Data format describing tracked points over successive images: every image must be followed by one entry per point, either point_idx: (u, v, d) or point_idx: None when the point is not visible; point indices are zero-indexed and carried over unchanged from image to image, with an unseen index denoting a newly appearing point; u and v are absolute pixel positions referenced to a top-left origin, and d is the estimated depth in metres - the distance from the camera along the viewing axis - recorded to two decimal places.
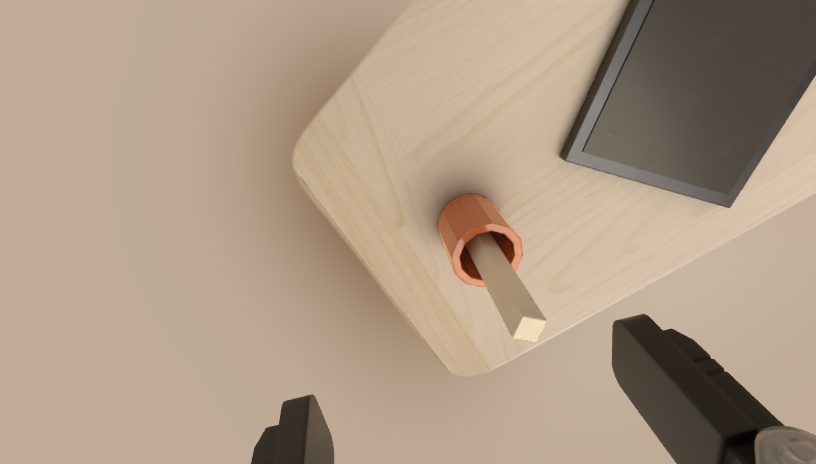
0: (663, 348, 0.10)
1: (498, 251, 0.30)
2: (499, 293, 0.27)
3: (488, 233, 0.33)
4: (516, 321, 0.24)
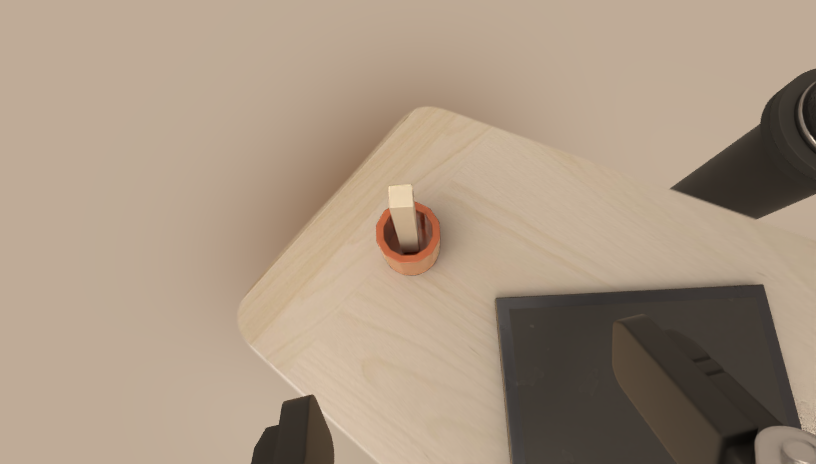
0: (663, 348, 0.10)
1: (417, 234, 0.34)
2: None
3: (418, 244, 0.37)
4: None
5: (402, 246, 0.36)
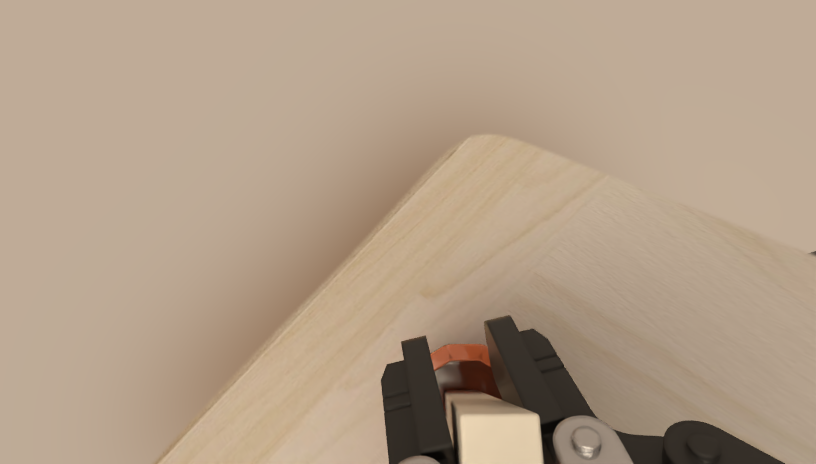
0: (513, 346, 0.11)
1: None
2: (483, 402, 0.11)
3: None
4: (505, 412, 0.09)
5: None
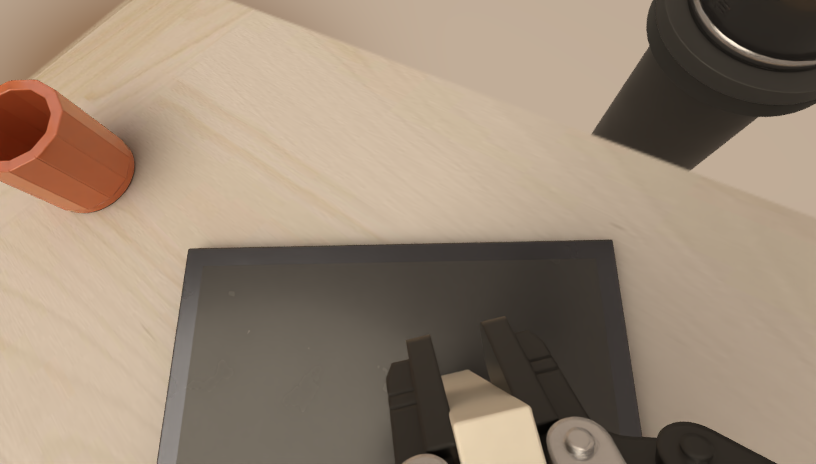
0: (508, 347, 0.11)
1: None
2: (475, 394, 0.11)
3: None
4: (496, 409, 0.09)
5: None
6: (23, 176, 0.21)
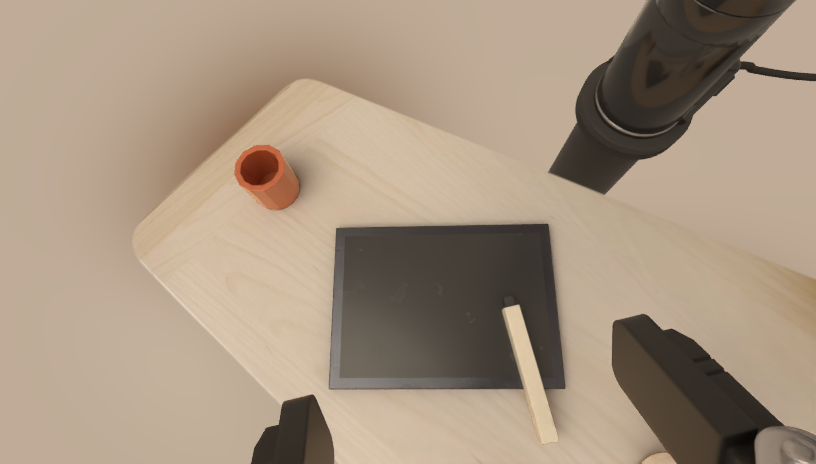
0: (663, 348, 0.10)
1: None
2: (540, 404, 0.39)
3: None
4: (551, 438, 0.38)
5: (509, 332, 0.43)
6: (266, 192, 0.44)
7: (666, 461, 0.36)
